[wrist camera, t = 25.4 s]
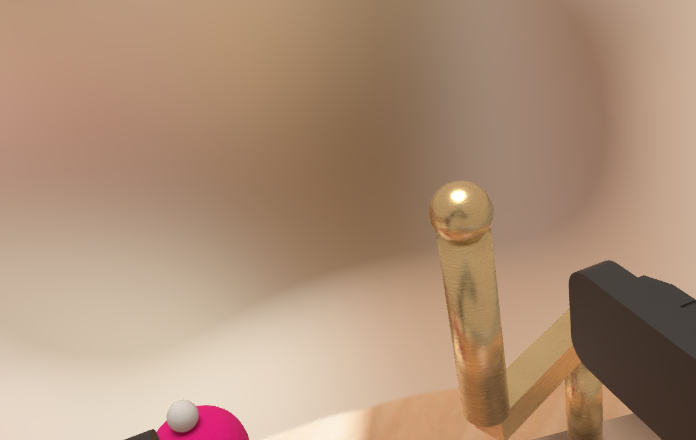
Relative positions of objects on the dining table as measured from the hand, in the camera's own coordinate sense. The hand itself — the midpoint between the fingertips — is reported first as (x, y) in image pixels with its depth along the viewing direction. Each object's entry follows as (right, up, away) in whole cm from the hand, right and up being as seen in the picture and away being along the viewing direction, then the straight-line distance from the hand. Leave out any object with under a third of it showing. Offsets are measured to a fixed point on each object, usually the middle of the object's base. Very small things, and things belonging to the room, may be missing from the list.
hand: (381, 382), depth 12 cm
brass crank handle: (+14, -16, +34) cm, 40 cm away
